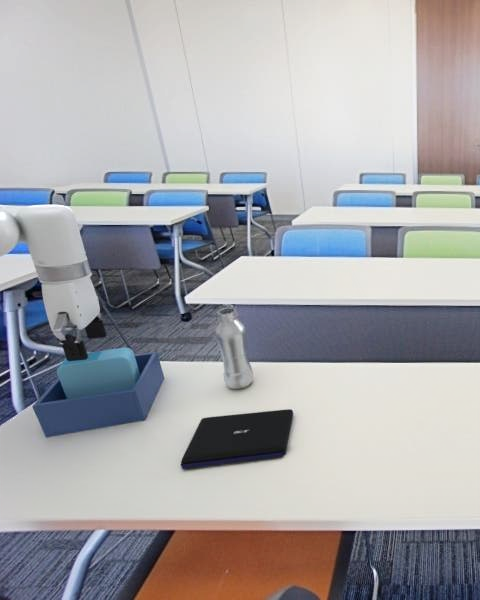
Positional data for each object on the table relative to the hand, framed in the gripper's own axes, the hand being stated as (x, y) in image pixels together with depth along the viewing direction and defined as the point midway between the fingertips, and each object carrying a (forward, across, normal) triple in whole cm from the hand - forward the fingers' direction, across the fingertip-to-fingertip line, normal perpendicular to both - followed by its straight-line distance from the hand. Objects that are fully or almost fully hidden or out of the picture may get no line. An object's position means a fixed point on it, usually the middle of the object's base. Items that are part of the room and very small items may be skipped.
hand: (88, 348), depth 83 cm
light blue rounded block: (+14, 0, +1) cm, 14 cm away
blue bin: (+15, 0, +1) cm, 15 cm away
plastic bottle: (+14, 0, +27) cm, 30 cm away
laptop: (+14, +21, +29) cm, 38 cm away
